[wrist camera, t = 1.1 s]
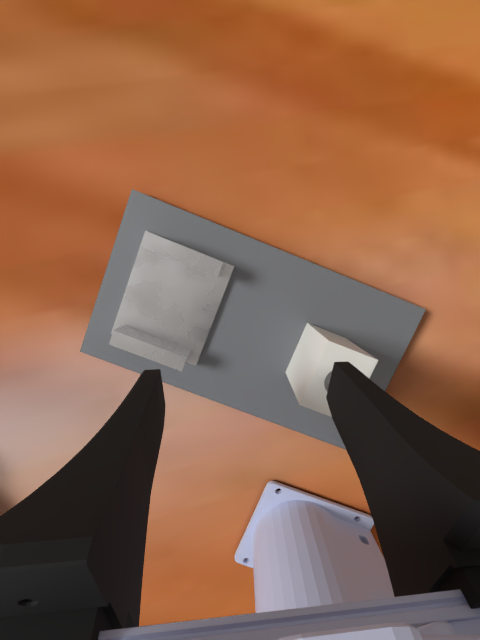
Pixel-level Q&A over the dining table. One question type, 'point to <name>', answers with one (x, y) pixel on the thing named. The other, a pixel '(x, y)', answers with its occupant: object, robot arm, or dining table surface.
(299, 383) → the connector
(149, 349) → the end holder
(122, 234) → the board
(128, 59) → the dining table surface
